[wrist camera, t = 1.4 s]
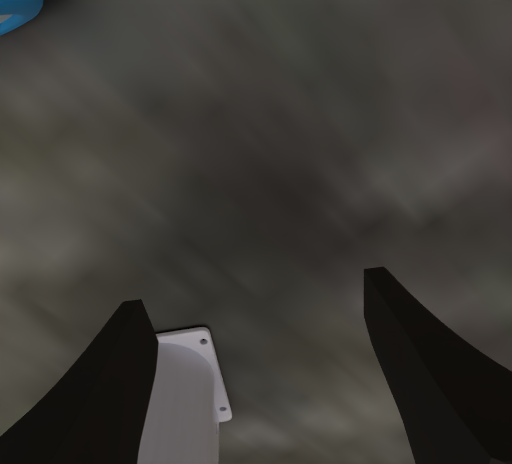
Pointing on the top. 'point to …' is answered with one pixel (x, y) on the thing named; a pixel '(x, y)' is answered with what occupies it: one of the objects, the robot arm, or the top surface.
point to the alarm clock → (17, 13)
